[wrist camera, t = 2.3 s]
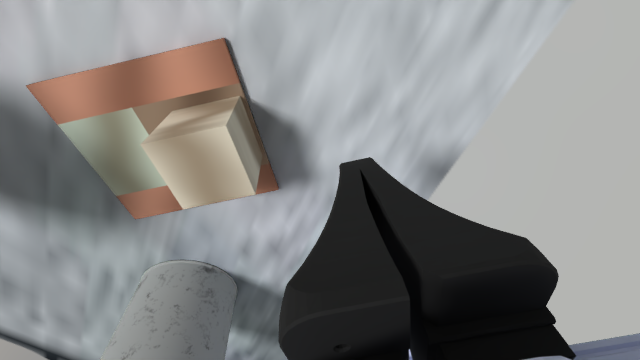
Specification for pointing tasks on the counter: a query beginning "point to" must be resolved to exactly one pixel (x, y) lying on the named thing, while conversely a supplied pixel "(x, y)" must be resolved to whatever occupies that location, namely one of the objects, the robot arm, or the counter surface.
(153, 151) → the birch block
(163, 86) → the board
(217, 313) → the grey marbled cylinder
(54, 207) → the counter surface
